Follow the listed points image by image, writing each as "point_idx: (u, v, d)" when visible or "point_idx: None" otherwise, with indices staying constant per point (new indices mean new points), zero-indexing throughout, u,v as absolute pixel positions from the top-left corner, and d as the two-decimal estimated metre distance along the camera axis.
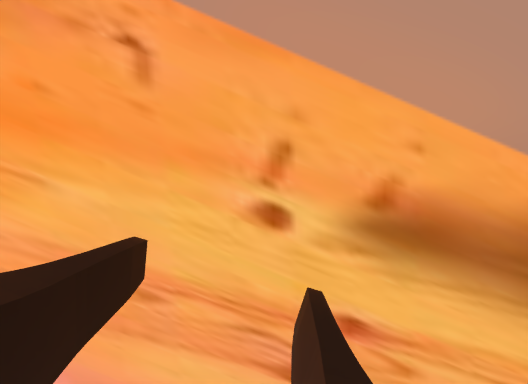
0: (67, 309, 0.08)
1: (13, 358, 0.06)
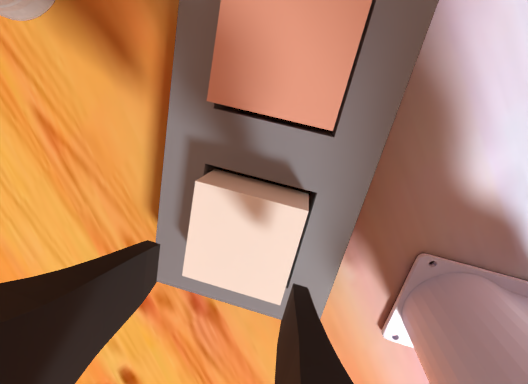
0: (85, 315, 0.08)
1: (35, 366, 0.06)
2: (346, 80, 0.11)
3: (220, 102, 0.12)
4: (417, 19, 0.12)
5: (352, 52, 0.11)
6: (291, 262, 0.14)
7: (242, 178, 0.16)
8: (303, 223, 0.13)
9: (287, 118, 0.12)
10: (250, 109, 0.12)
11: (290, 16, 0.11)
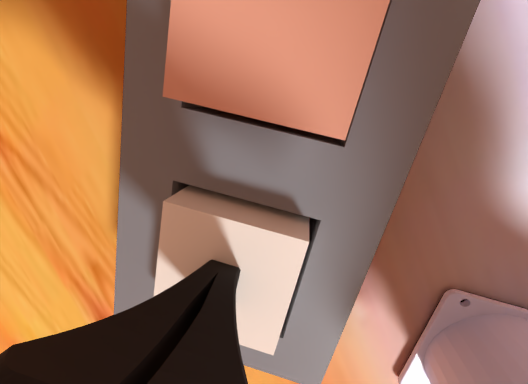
0: (176, 345, 0.07)
1: None
2: (366, 64, 0.07)
3: (182, 98, 0.08)
4: None
5: (377, 20, 0.07)
6: (287, 304, 0.11)
7: (226, 195, 0.13)
8: (302, 257, 0.10)
9: (278, 121, 0.08)
10: (224, 108, 0.08)
11: None
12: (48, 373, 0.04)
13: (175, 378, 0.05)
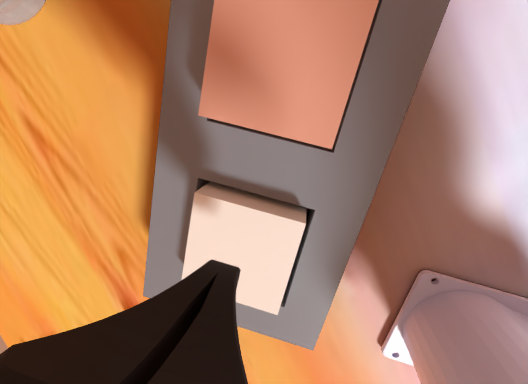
0: (176, 345, 0.07)
1: None
2: (346, 96, 0.10)
3: (212, 117, 0.11)
4: (422, 31, 0.11)
5: (353, 66, 0.10)
6: (288, 273, 0.14)
7: (240, 189, 0.16)
8: (300, 235, 0.13)
9: (283, 135, 0.11)
10: (244, 125, 0.11)
11: (287, 27, 0.10)
12: (48, 373, 0.04)
13: (175, 378, 0.05)
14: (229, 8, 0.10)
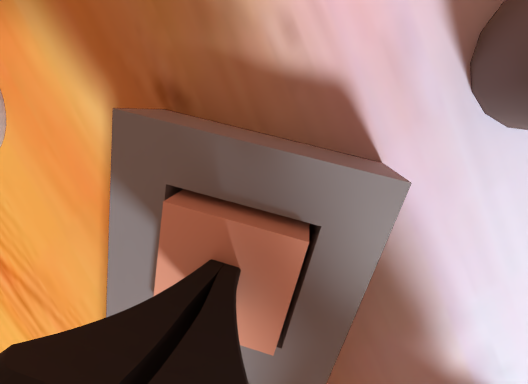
0: (176, 345, 0.07)
1: None
2: (283, 319, 0.11)
3: None
4: (363, 259, 0.11)
5: (287, 299, 0.11)
6: None
7: None
8: None
9: None
10: None
11: (226, 263, 0.11)
12: (47, 373, 0.04)
13: (176, 378, 0.05)
14: (173, 243, 0.11)
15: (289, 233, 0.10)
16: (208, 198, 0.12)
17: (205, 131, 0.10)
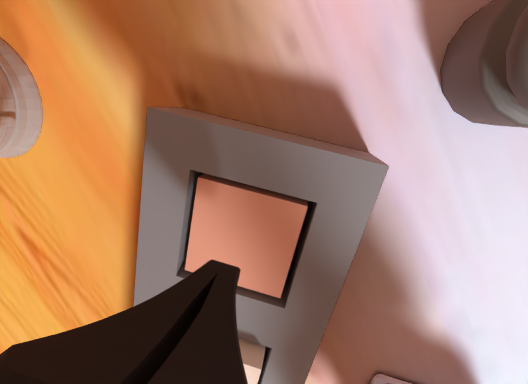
0: (176, 345, 0.07)
1: None
2: (287, 268, 0.15)
3: None
4: (351, 229, 0.13)
5: (291, 251, 0.14)
6: None
7: None
8: (257, 377, 0.15)
9: (246, 286, 0.16)
10: None
11: (244, 225, 0.14)
12: (48, 372, 0.04)
13: (175, 378, 0.05)
14: (204, 210, 0.14)
15: (292, 200, 0.14)
16: None
17: (223, 125, 0.13)
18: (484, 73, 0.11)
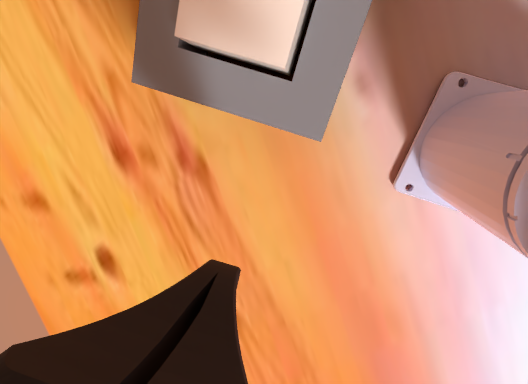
0: (176, 345, 0.07)
1: None
2: None
3: None
4: None
5: None
6: (302, 1, 0.12)
7: None
8: None
9: None
10: None
11: None
12: (48, 372, 0.04)
13: (175, 378, 0.05)
14: None
15: None
16: None
17: None
18: None
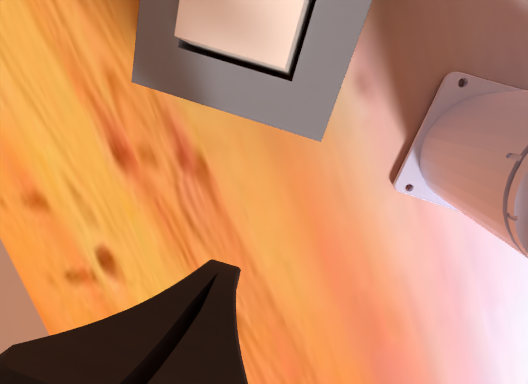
0: (176, 345, 0.07)
1: None
2: None
3: None
4: None
5: None
6: (302, 1, 0.12)
7: None
8: None
9: None
10: None
11: None
12: (48, 372, 0.04)
13: (175, 378, 0.05)
14: None
15: None
16: None
17: None
18: None
